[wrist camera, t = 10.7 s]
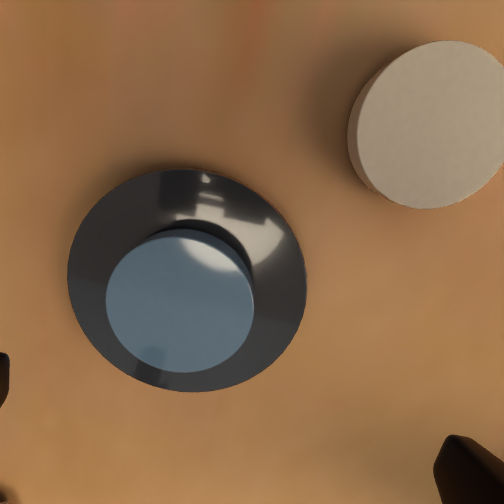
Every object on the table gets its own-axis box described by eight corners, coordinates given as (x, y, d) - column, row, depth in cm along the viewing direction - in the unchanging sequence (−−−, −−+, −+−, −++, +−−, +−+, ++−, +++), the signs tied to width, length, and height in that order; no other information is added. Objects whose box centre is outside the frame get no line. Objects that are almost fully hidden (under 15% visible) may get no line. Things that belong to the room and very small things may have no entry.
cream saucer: (441, 222, 19) (464, 231, 17) (321, 172, 19) (330, 176, 16) (515, 88, 17) (551, 80, 15) (385, 27, 17) (404, 10, 15)
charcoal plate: (255, 405, 23) (255, 419, 22) (55, 340, 21) (44, 351, 20) (342, 220, 19) (347, 224, 18) (110, 128, 18) (101, 127, 17)
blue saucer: (227, 366, 21) (224, 390, 18) (106, 325, 20) (88, 346, 18) (274, 255, 19) (277, 269, 17) (142, 205, 18) (128, 213, 16)
